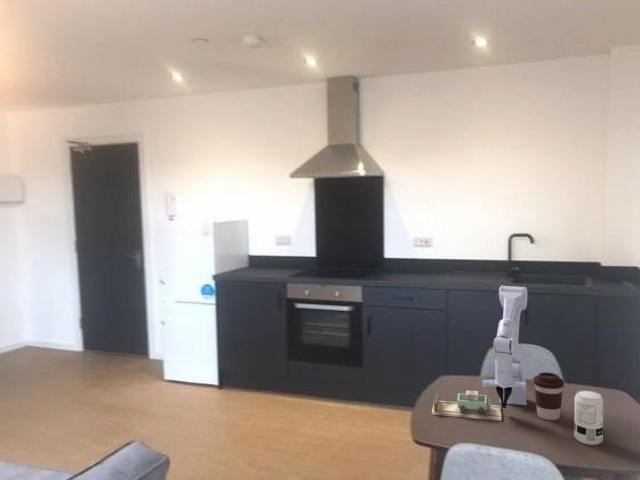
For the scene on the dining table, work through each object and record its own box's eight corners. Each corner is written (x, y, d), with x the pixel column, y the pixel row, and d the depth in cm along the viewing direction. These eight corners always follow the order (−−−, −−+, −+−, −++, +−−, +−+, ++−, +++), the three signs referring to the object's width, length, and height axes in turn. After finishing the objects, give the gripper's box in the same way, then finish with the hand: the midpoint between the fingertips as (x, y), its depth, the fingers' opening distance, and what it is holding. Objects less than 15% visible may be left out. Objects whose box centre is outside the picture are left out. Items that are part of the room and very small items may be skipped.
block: (477, 401, 192) (477, 391, 192) (477, 405, 189) (477, 395, 188) (466, 400, 193) (466, 390, 193) (466, 405, 190) (466, 394, 189)
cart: (489, 404, 194) (489, 394, 194) (490, 414, 185) (490, 404, 185) (458, 401, 197) (458, 392, 197) (457, 411, 188) (457, 401, 188)
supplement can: (568, 435, 171) (569, 390, 170) (592, 433, 172) (593, 389, 171) (583, 446, 163) (584, 400, 162) (608, 444, 164) (609, 398, 163)
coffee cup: (550, 424, 179) (550, 382, 178) (527, 414, 188) (527, 373, 187) (569, 418, 184) (570, 376, 182) (546, 408, 192) (546, 368, 191)
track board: (500, 408, 194) (500, 397, 193) (501, 420, 183) (501, 409, 183) (434, 402, 201) (434, 392, 200) (431, 414, 190) (431, 403, 190)
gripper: (482, 372, 185) (482, 409, 186) (526, 375, 181) (526, 413, 182) (482, 366, 192) (482, 401, 193) (524, 368, 188) (524, 405, 189)
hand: (503, 406), depth 188 cm, fingers closed
